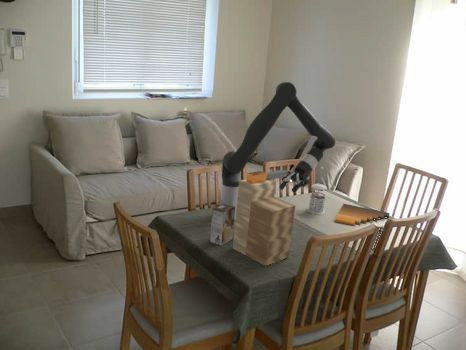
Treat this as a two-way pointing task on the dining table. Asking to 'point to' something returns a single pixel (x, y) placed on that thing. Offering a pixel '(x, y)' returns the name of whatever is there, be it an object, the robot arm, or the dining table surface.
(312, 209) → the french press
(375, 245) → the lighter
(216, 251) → the dining table surface
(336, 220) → the pan flute
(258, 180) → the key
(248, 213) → the stand
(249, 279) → the dining table surface
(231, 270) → the dining table surface
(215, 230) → the coffee box
